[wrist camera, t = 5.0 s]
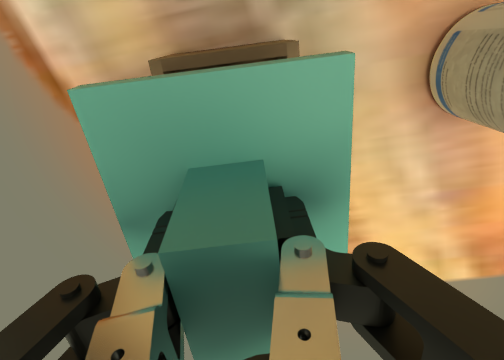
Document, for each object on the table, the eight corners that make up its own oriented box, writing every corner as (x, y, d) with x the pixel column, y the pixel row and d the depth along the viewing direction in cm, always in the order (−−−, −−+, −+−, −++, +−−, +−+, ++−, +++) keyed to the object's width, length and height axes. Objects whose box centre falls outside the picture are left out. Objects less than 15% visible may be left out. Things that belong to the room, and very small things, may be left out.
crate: (170, 54, 26) (148, 60, 20) (284, 39, 26) (298, 40, 20) (197, 178, 31) (186, 213, 25) (292, 166, 31) (306, 199, 25)
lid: (94, 80, 12) (-61, 138, 6) (336, 48, 12) (444, 74, 6) (166, 288, 18) (125, 434, 11) (333, 269, 18) (387, 407, 11)
